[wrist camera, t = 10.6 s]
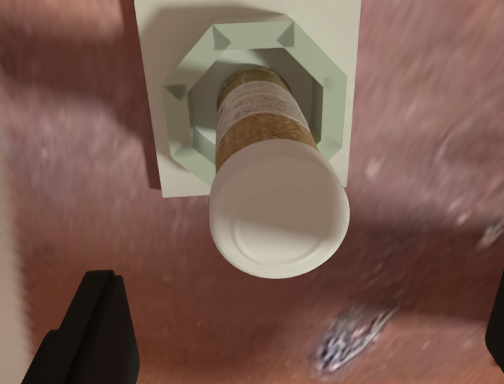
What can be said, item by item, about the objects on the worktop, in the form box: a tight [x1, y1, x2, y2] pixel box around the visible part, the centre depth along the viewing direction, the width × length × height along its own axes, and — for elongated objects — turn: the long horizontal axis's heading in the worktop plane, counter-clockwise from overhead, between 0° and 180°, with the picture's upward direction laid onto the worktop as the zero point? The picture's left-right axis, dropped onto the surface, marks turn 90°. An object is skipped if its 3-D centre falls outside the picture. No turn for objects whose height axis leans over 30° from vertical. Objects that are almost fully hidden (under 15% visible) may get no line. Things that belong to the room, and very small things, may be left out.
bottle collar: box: [134, 0, 361, 198], centre depth 25 cm, size 12×12×4 cm
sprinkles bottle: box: [209, 66, 350, 279], centre depth 20 cm, size 5×5×14 cm
